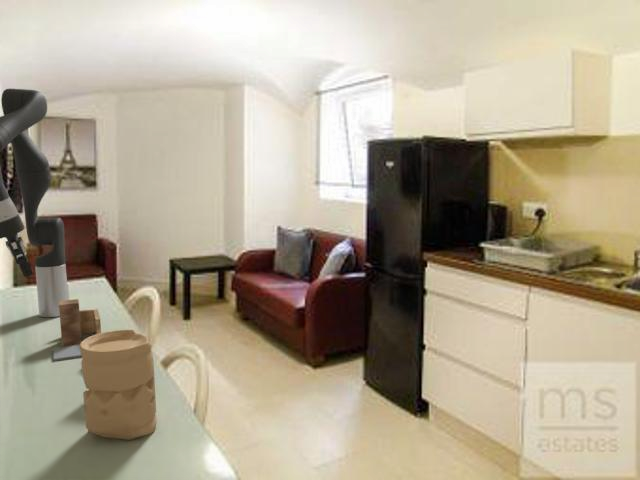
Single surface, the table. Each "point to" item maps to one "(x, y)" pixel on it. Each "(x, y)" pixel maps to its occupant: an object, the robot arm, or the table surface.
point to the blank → (70, 322)
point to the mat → (67, 353)
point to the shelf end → (90, 321)
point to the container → (119, 384)
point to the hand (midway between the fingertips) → (28, 271)
